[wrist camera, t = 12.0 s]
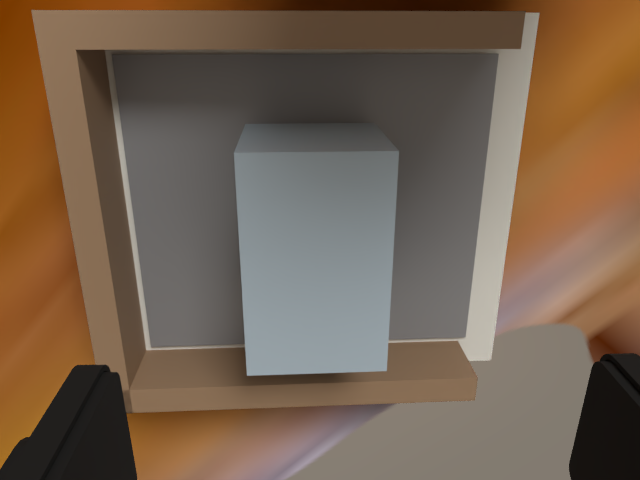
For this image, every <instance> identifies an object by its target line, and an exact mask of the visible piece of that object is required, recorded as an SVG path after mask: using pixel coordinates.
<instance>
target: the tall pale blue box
mask: <svg viewBox="0 0 640 480" xmlns="http://www.w3.org/2000/svg"><path fill="white" fill-rule="evenodd" d="M398 162H399V150H398V149H397V148H396V147H395V146H394V145H393V143H392V142H391V141H390V140H389V139H388V138H387V137H386V135H385V134H384V133H383V132H382V131H381V130H380V129H379V127H378V126H377V125H376V124H375V123H289V124H245V126H244V129H243V131H242V134H241V136H240V139H239V141H238V144H237V146H236V149H235V151H234V164H235V181H236V198H237V215H238V233H239V250H240V267H241V284H242V301H243V318H244V335H245V352H246V369H247V376H256V375H286V374H316V373H346V372H376V371H387V358H388V340H389V322H390V305H391V287H392V269H393V251H394V233H395V216H396V198H397V180H398Z"/></svg>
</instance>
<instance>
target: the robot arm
mask: <svg viewBox="0 0 640 480" xmlns="http://www.w3.org/2000/svg"><path fill="white" fill-rule="evenodd" d="M569 472H570V477H571V480H640V356H639V355H637V354H633V353H630V354H605V355H603V356H602V357H601V359H600V362H595V363H594V364H593V366H592V369H591V374H590V378H589V382H588V387H587V391H586V395H585V399H584V403H583V407H582V412H581V416H580V420H579V424H578V429H577V433H576V437H575V442H574V446H573V450H572V454H571V458H570V463H569ZM0 480H137V473H136V468H135V462H134V456H133V450H132V444H131V438H130V432H129V427H128V421H127V415H126V409H125V403H124V397H123V392H122V386H121V380H120V376H119V374H118V373H117V372H111V371H110V368H109V366H108V365H77V366H75V367H74V368H73V369H72V371H71V372H70V374H69V375H68V377H67V379H66V380H65V382H64V383H63V385H62V387H61V388H60V390H59V391H58V393H57V395H56V396H55V398H54V399H53V401H52V403H51V404H50V406H49V407H48V409H47V410H46V412H45V414H44V415H43V417H42V418H41V420H40V422H39V423H38V425H37V426H36V428H35V430H34V431H33V433H32V434H31V436H30V437H26V438H24V439H22V440H20V441H19V443H18V444H17V445H16V446H15V447H14V449H13V451H12V452H11V454H10V455H9V457H8V458H7V460H6V461H5V463H4V464H3V466H2V468H1V469H0Z"/></svg>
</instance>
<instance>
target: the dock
mask: <svg viewBox="0 0 640 480" xmlns="http://www.w3.org/2000/svg"><path fill="white" fill-rule="evenodd" d="M31 11H32V17H33V22H34V28H35V33H36V39H37V44H38V50H39V55H40V61H41V66H42V72H43V77H44V83H45V88H46V94H47V99H48V105H49V110H50V116H51V121H52V127H53V132H54V138H55V143H56V149H57V154H58V160H59V165H60V171H61V176H62V182H63V188H64V193H65V199H66V204H67V210H68V215H69V221H70V226H71V232H72V237H73V243H74V248H75V254H76V259H77V265H78V270H79V276H80V281H81V287H82V292H83V298H84V303H85V309H86V314H87V320H88V325H89V331H90V336H91V342H92V347H93V353H94V358H95V364H96V365H108V366H109V368H110V371H111V372H117V373H118V374H119V376H120V380H121V386H122V392H123V397H124V403H125V409H126V413H144V412H171V411H198V410H225V409H253V408H280V407H307V406H334V405H361V404H388V403H415V402H442V401H466V400H467V401H470V400H475V395H476V387H477V379H478V378H477V376H476V374H475V372H474V370H473V368H472V366H471V364H470V363H469V361H483V360H491V356H492V349H493V342H494V335H495V328H496V321H497V313H498V306H499V299H500V292H501V285H502V278H503V270H504V263H505V256H506V249H507V242H508V235H509V228H510V220H511V213H512V206H513V199H514V192H515V185H516V177H517V170H518V163H519V156H520V149H521V142H522V134H523V127H524V120H525V113H526V106H527V99H528V91H529V84H530V77H531V70H532V63H533V56H534V49H535V41H536V34H537V27H538V20H539V13H526V11H200V10H31ZM289 123H375V124H376V125H377V126H378V127H379V129H380V130H381V131H382V132H383V133H384V134H385V135H386V137H387V138H388V139H389V140H390V141H391V142H392V143H393V145H394V146H395V147H396V148H397V149H398V150H399V162H398V180H397V198H396V216H395V233H394V251H393V269H392V287H391V305H390V322H389V340H388V358H387V371H376V372H346V373H316V374H286V375H256V376H247V369H246V352H245V335H244V318H243V301H242V284H241V267H240V250H239V233H238V215H237V198H236V181H235V164H234V151H235V149H236V146H237V144H238V141H239V139H240V136H241V134H242V131H243V129H244V126H245V124H289Z"/></svg>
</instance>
